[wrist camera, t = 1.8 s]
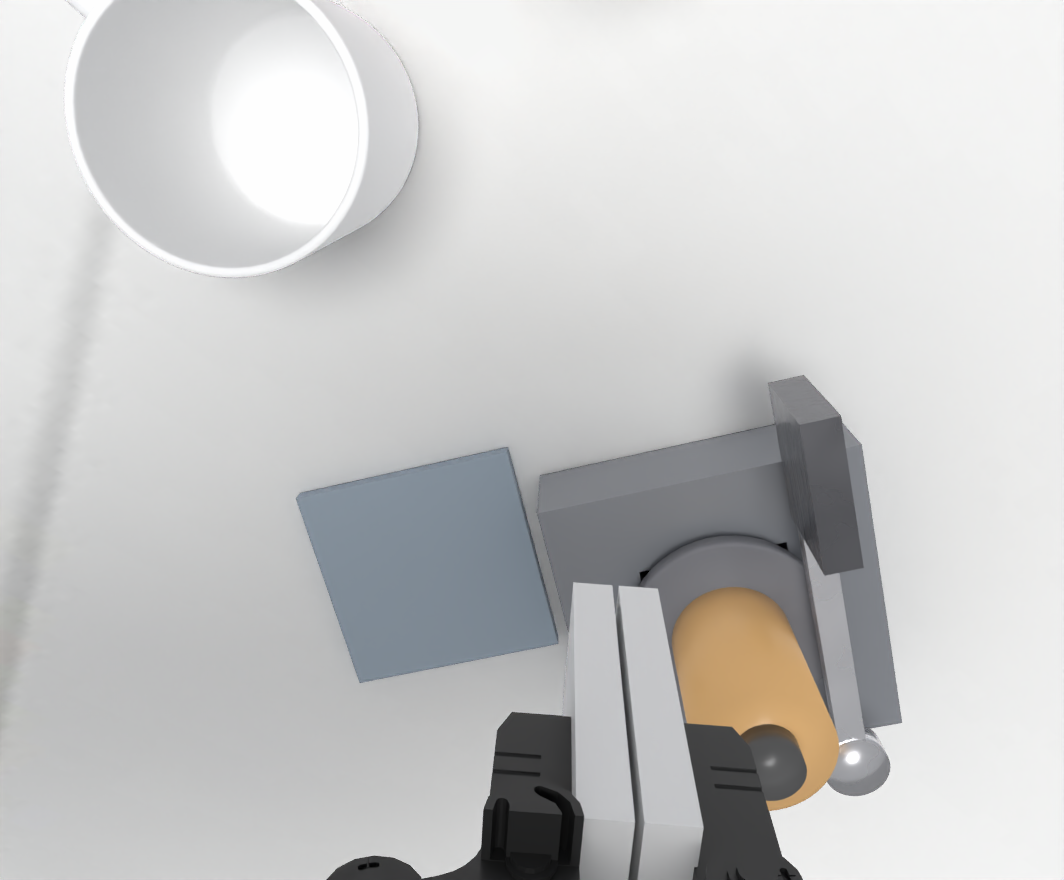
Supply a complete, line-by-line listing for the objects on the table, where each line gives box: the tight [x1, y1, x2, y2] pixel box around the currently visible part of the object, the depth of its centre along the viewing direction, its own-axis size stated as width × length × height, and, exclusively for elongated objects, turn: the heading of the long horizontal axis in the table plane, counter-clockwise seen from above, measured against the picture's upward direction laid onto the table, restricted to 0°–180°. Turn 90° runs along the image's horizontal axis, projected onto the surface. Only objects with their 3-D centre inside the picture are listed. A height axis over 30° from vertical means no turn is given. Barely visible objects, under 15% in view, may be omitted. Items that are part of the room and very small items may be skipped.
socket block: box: [537, 423, 902, 729], centre depth 38 cm, size 12×12×5 cm
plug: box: [638, 535, 839, 811], centre depth 34 cm, size 8×8×13 cm
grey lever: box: [768, 375, 890, 796], centre depth 32 cm, size 2×16×5 cm, turn 14°
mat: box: [296, 447, 558, 683], centre depth 41 cm, size 9×9×1 cm
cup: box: [64, 0, 419, 278], centre depth 30 cm, size 8×12×10 cm
